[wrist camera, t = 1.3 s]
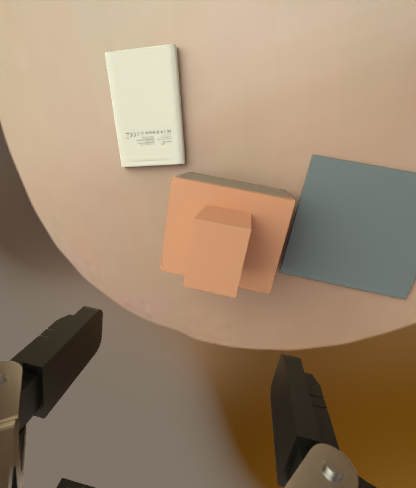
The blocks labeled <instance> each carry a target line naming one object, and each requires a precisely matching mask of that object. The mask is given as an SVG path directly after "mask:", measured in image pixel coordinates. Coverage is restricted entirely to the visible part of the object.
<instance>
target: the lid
mask: <svg viewBox="0 0 416 488" xmlns="http://www.w3.org/2000/svg"><path fill="white" fill-rule="evenodd" d="M294 205H295V200H294V199H291V198H285V197H280V196H275V195H270V194H265V193H259V192H254V191H249V190H244V189H238V188H233V187H228V186H223V185H218V184H212V183H207V182H202V181H197V180H191V179H186V178H181V177H176V176H174V177H172V178H171V186H170V194H169V202H168V210H167V219H166V227H165V235H164V243H163V251H162V260H161V268H160V270H163V271H168V272H172V273H177V274H181V275H185V278H184V285H183V286H185V287H189V288H194V289H198V290H203V291H207V292H211V293H216V294H220V295H225V296H229V297H234V298H236V293H237V289H238V287H239V288H244V289H248V290H253V291H257V292H262V293H266V294H270V291H271V288H272V284H273V280H274V277H275V273H276V270H277V266H278V262H279V259H280V255H281V252H282V248H283V244H284V241H285V237H286V234H287V230H288V226H289V223H290V219H291V216H292V212H293V209H294Z"/></svg>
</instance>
